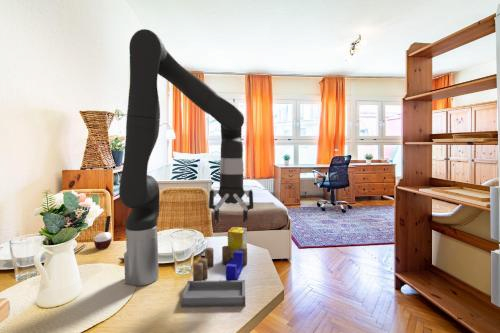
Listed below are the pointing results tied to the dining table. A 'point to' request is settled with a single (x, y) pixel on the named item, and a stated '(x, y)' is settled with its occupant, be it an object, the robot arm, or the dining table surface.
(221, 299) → the tray
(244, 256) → the spacer
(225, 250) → the spacer
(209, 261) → the block
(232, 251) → the supplement box
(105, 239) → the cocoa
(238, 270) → the cable clip
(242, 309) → the dining table surface
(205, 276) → the spacer
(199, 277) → the spacer
